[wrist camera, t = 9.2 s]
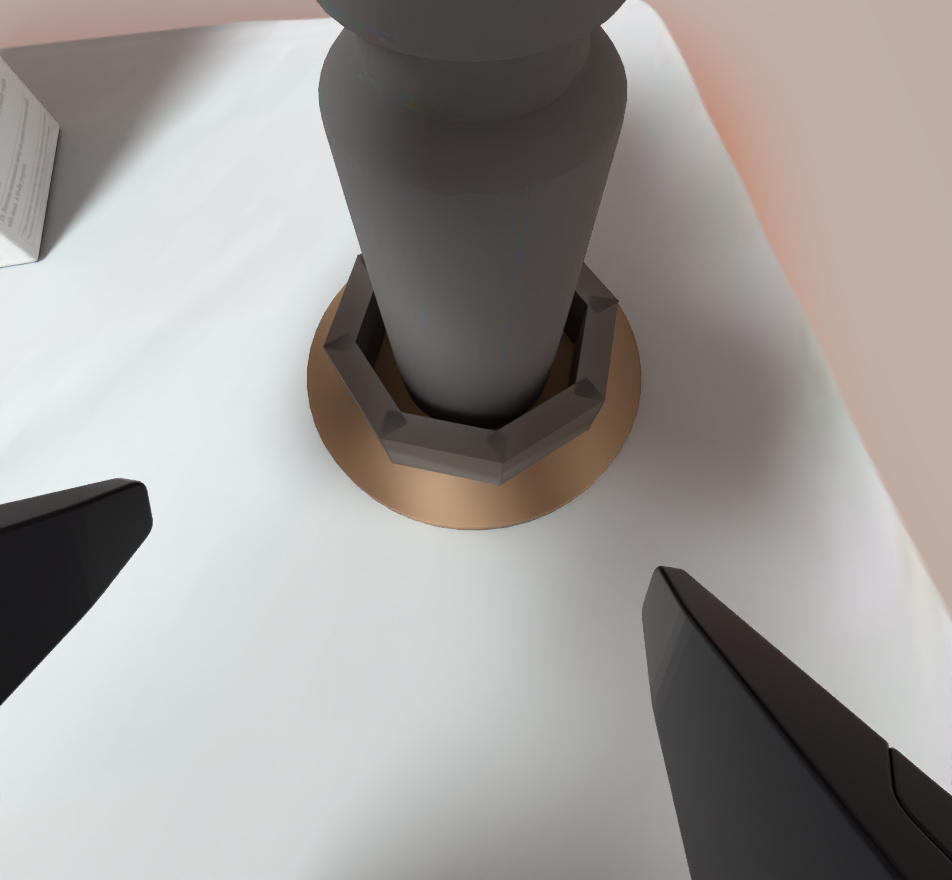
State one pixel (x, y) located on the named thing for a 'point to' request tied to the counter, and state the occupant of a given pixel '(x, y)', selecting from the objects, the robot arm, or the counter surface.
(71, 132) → the counter surface
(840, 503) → the counter surface
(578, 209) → the bottle
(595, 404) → the ring coaster
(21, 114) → the supplement box
